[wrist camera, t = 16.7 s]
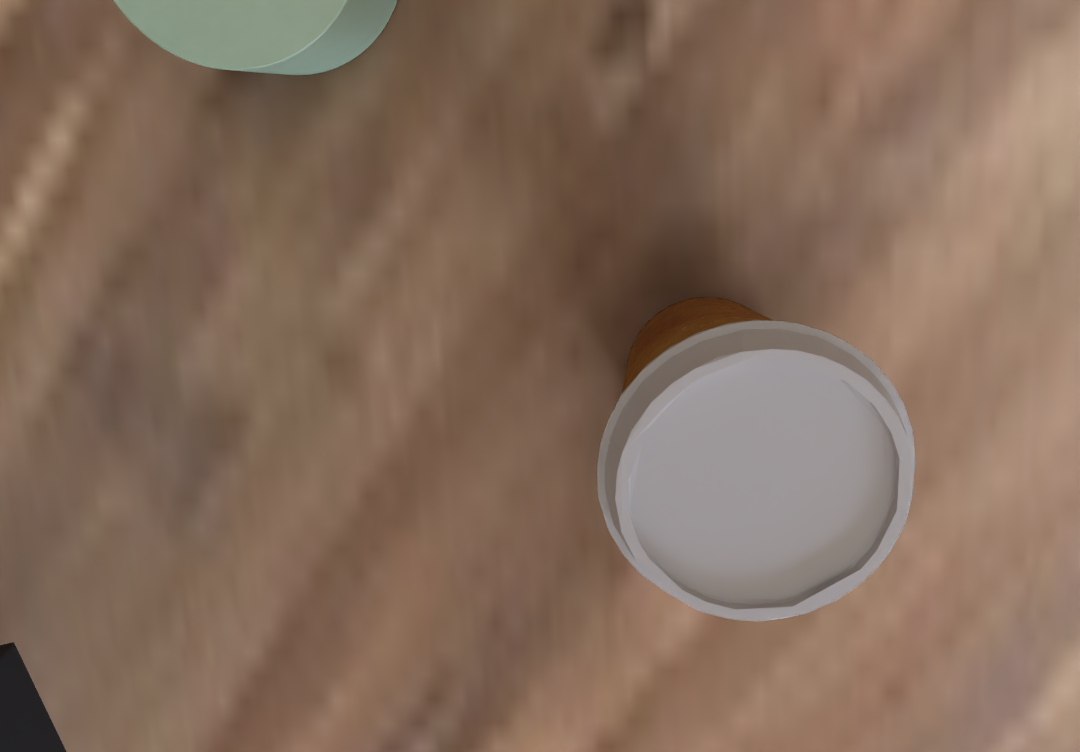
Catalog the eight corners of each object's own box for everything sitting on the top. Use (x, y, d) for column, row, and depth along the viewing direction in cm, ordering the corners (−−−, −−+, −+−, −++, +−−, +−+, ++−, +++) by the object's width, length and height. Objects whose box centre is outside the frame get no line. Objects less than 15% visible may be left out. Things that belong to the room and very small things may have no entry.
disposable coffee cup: (594, 483, 39) (607, 643, 28) (581, 265, 37) (590, 342, 25) (817, 471, 39) (923, 627, 27) (821, 249, 36) (940, 320, 25)
